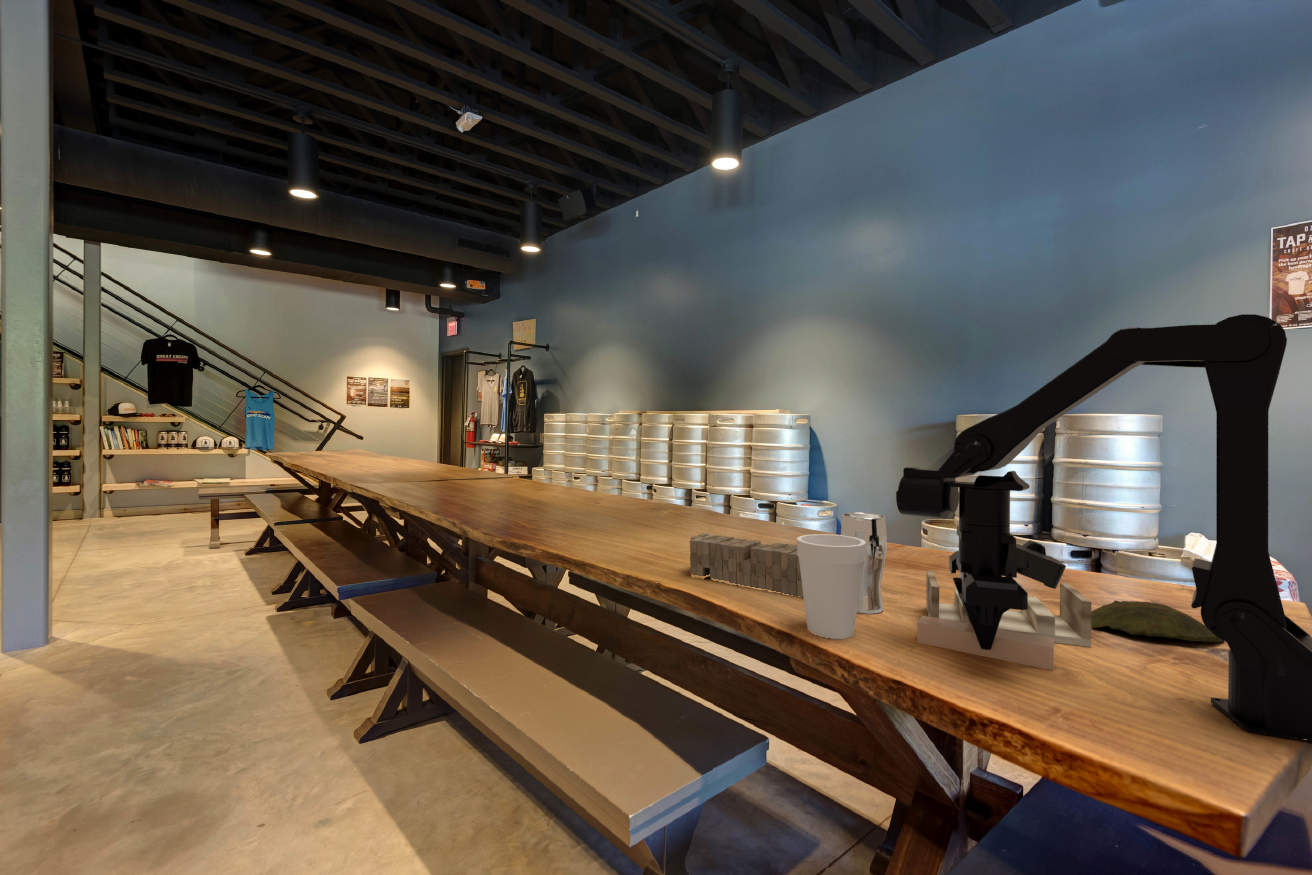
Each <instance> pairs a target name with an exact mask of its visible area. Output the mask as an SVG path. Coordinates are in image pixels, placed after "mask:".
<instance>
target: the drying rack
mask: <svg viewBox="0 0 1312 875" xmlns="http://www.w3.org/2000/svg"><path fill="white" fill-rule="evenodd" d="M925 588H926V595H925V596H926V599H925V600H926V603H925V604H926V605H925V607H926V611H927V612H926V613H927V616H928V617H933V618H939V619H944V620H950V621H956V622H961V623H967V624H970V621H969V619H968V616H967V614H966V611H965V609H964V606H963V604H962V601H961V599H960V596H959V594H958V591H957V589H956V588H954V589H953V590H954V594H953V595H954V596H953V597H954V598H953V601H954V602H953V603H954V604H953V603H944V602H943V603H941V602H940V586H939V583H938V580H937V577H936V575H935V571H931V570H926V587H925ZM1091 612H1092V601H1091V600H1090V599H1089V598H1087V597H1086V596H1085V595H1083V593H1081V592H1080V591H1078V590H1077V589H1076V588H1075V587H1074V586H1072V585H1071V584H1070V583H1069V582H1060V581H1059V615H1056V614H1054V613H1052V612H1051V611H1050V610H1049V609H1048V608H1047V607H1046V605H1045V604H1044V603H1043V602H1041V601H1040V599H1039V598H1038V597H1037V596H1034V595H1033V596H1031V595H1028V609H1027V610H1020V611H1019V610H1018V611H1017V610H1011V609H1009V610H1008V611H1006V612H1004V613H1003V615H1002V617H1001V620H1000V623H999V626H998V629H1001V630H1006V631H1012V632H1017V633H1023V634H1029V635H1034V636H1040V637H1045V638H1051V639H1054V644H1061V645H1071V646H1080V647H1087V648H1091V647H1092V629H1091Z"/></svg>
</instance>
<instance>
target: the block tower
mask: <svg viewBox="0 0 1312 875" xmlns="http://www.w3.org/2000/svg"><path fill="white" fill-rule="evenodd" d="M689 552H690V553H689V560H690V561H689V562H690V563H689V564H690V567H689V569H690V572H689V573H690V574H693V575H698V576H706V575H709V574H710V577H709V579H710V578H713V579H718V580H724V581H729V582H730V583H735V584H740V585H744V586H750V587H755V588H761V589H767V590H771V591H776V592H781V593H784V594H789V595H793V596H792V597H794V596H800V597H804V596H803V588H802V580H801V572H800V563H799V557H798V556H797V544H791V543H790V544H789V543H782V542H774V543H772V544H768V543H767V544H766V543H762V542H761V540H758V539H756V540H754V539H747V538H738V537H737V538H735V537H734V536H726V535H717V534H716V535H715V534H709V533H701V534H697V535H694V536H691V537H690V540H689Z"/></svg>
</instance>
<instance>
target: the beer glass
mask: <svg viewBox="0 0 1312 875" xmlns="http://www.w3.org/2000/svg"><path fill="white" fill-rule="evenodd" d="M840 526H841V529H840V535H844V536H849V537H855V538H859V539H862V540H864V541H865V542H866V560H865V561H864V567H863V574H862V581H861V588H860V595H859V601H858V608H857V614H868V615H869V614H870V615H872V614H880V613H881V612H884V605H883V598H882V592H881V590H882V589H881V587H882V578H883V572H884V568H885V561H886V555H887V546H888V545H887V543H888V542H887V541H888V538H887V537H888V536H887V524H886V516H885V515H883V514H880V513H873V512H845V513H842V517H841V525H840Z"/></svg>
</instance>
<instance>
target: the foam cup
mask: <svg viewBox="0 0 1312 875" xmlns="http://www.w3.org/2000/svg"><path fill="white" fill-rule="evenodd" d="M796 542H797V543H796V545H797V556H798V557H799V563H800V572H801V580H802V588H803V596H804V598H803V603H804V611H805V619H806V626H807V631H808V630H809V631H811V632H812V633H814V634H816V635H819V636H821V637H820V638H822V637H825V638H824V639H828V638H831V640H844V639H850V638H851V637H853V636H854V631H855V629H856V628H855V627H856V621H857V615H858V613H857V608H858V601H859V595H860V588H861V581H862V574H863V567H864V561H865V560H866V542H865V541H864V540H862V539H859V538H855V537H849V536H844V535H841V534H831V533H828V534H827V533H823V534H822V533H812V534H804V535H800V536H797V537H796ZM809 631H808V632H809ZM816 635H815V636H816ZM819 636H818V637H819Z"/></svg>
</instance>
